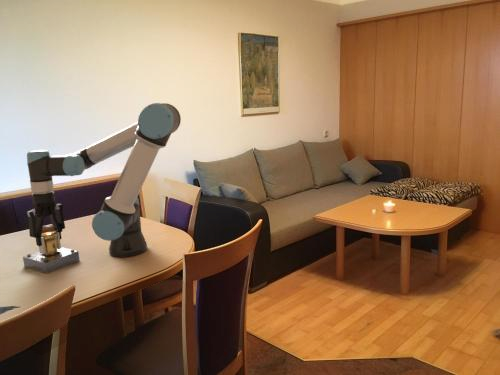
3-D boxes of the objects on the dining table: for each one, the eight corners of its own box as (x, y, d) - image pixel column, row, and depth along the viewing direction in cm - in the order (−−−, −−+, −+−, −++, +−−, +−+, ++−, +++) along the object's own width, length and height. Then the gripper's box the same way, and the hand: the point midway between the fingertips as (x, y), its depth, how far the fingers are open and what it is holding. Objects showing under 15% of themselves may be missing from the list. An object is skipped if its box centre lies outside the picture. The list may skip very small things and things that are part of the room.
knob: (63, 262, 165) (59, 233, 162) (49, 267, 160) (45, 237, 158) (54, 260, 168) (50, 231, 165) (40, 265, 163) (36, 235, 161)
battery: (58, 249, 180) (55, 226, 178) (41, 250, 179) (38, 228, 177) (61, 245, 185) (58, 223, 182) (44, 247, 183) (41, 225, 181)
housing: (79, 260, 166) (78, 249, 165) (46, 273, 154) (44, 261, 153) (57, 255, 173) (56, 244, 172) (24, 266, 162) (22, 255, 161)
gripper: (59, 186, 168) (66, 242, 172) (12, 196, 152) (21, 256, 157) (71, 187, 164) (77, 244, 169) (24, 198, 148) (33, 260, 153)
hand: (50, 250), depth 163 cm, fingers closed on knob, 6 cm apart
